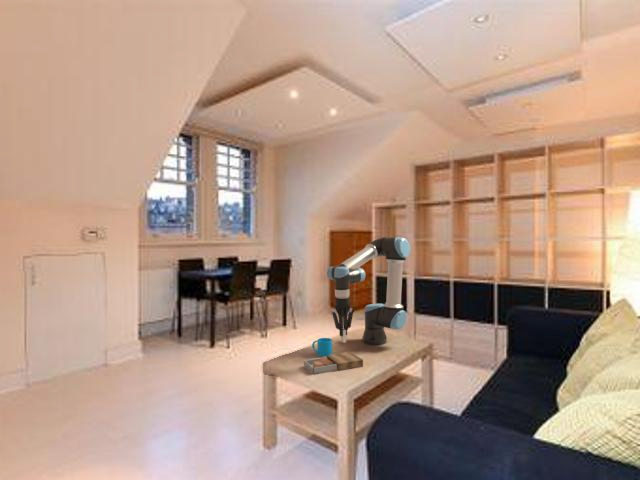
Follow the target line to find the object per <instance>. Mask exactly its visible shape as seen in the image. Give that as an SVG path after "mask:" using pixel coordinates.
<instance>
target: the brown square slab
mask: <svg viewBox="0 0 640 480" xmlns="http://www.w3.org/2000/svg"><path fill="white" fill-rule="evenodd" d="M327 359H328V360H330V361H331V362H332V363H333V364H337V370H336V371H339V372H340V371H345V370H351V369H355V368H356V369H357V368H361V367H364V359H362V358H361V357H360V356H358V355H356V354H354V353H353V352H351V351H345V352H339V353H332V355H327ZM333 364H332V365H333Z"/></svg>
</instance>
